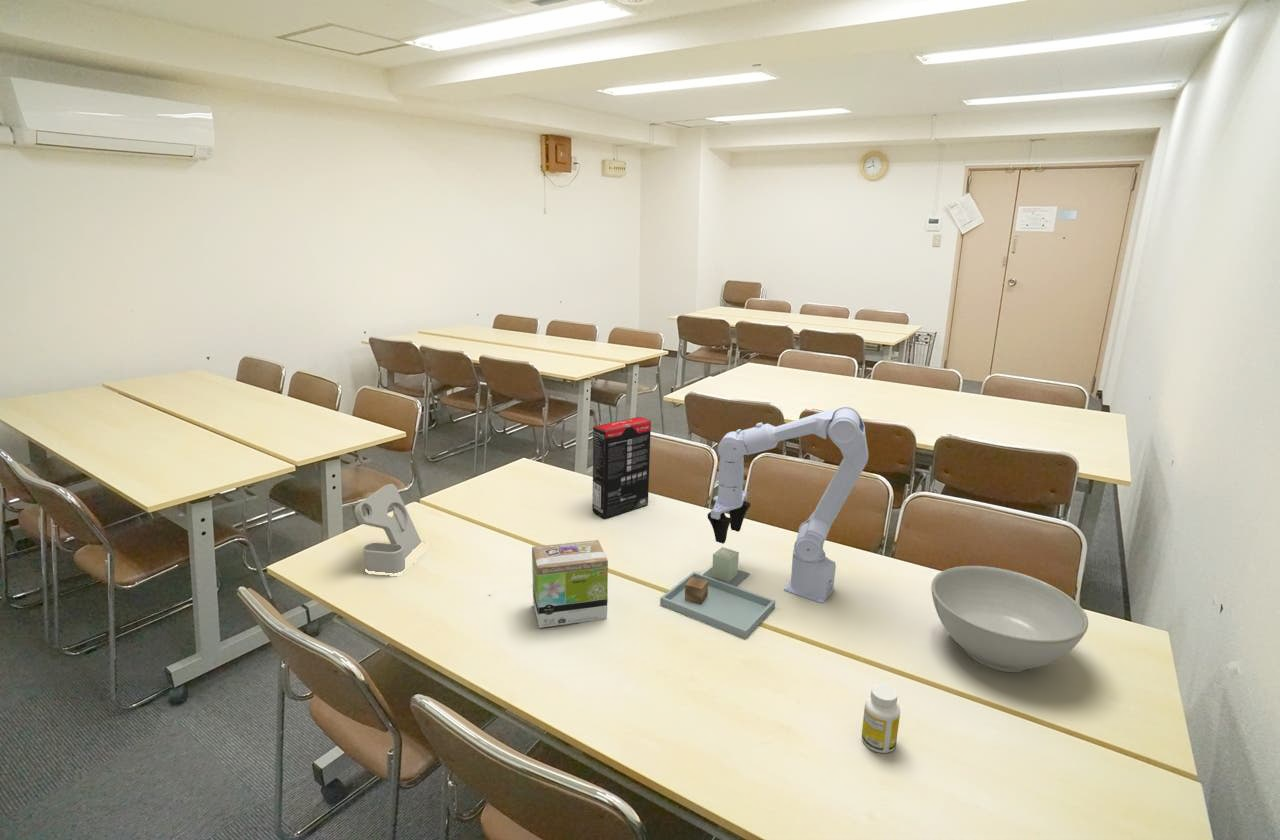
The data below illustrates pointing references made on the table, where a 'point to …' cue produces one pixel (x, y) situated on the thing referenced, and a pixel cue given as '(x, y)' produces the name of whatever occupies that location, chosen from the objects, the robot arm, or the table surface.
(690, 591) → the walnut block
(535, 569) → the tea box
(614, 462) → the graphics card box
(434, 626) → the table surface
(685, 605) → the tray
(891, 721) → the supplement bottle
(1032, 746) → the table surface
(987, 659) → the decorative bowl
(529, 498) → the table surface
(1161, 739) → the table surface
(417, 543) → the phone holder
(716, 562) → the pale green box
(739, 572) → the mat
